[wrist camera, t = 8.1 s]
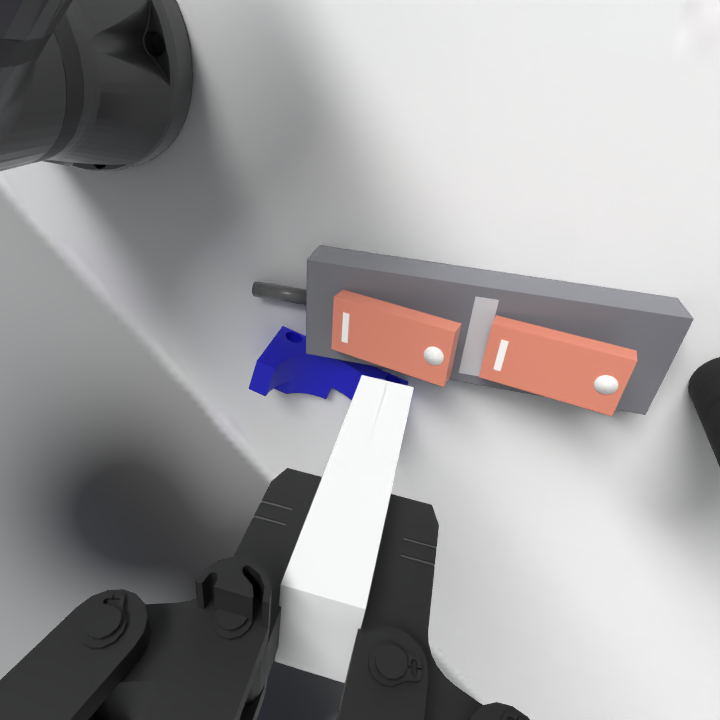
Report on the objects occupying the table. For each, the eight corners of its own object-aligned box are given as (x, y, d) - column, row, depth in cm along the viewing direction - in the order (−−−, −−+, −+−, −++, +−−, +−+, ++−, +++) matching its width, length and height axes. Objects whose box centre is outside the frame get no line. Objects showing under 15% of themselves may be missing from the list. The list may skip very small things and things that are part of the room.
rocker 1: (340, 341, 38) (330, 349, 37) (343, 289, 36) (333, 296, 34) (450, 377, 35) (443, 387, 34) (461, 323, 32) (454, 332, 31)
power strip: (262, 325, 43) (247, 343, 40) (258, 236, 38) (241, 250, 36) (634, 389, 38) (645, 415, 36) (677, 298, 34) (694, 319, 31)
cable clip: (271, 363, 45) (244, 401, 40) (283, 325, 43) (256, 360, 38) (389, 415, 45) (377, 460, 40) (408, 380, 43) (398, 423, 38)
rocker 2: (482, 367, 36) (478, 377, 35) (496, 315, 34) (491, 324, 33) (612, 404, 33) (612, 416, 32) (636, 350, 31) (637, 361, 30)
